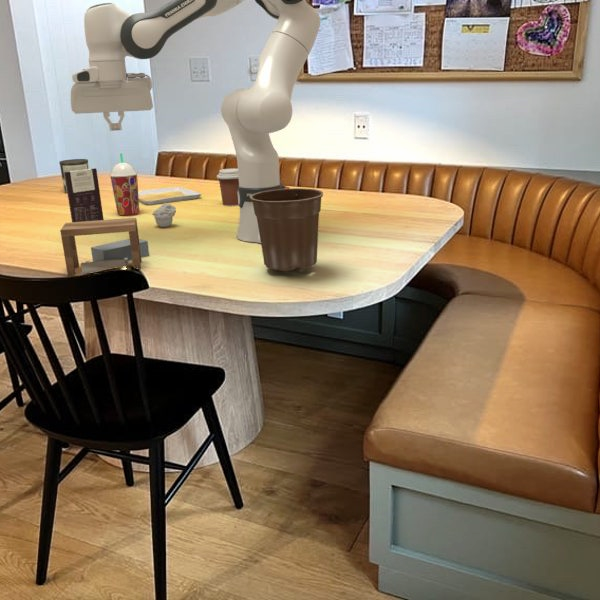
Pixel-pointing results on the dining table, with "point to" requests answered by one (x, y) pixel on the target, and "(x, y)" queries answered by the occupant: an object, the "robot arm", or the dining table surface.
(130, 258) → the slab
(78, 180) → the chocolate bar
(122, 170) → the smoothie
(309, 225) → the plant pot
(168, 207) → the grey lumpy rounded piece
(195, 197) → the salad plate
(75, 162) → the coffee can
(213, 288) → the dining table surface
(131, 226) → the bench
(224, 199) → the coffee cup
